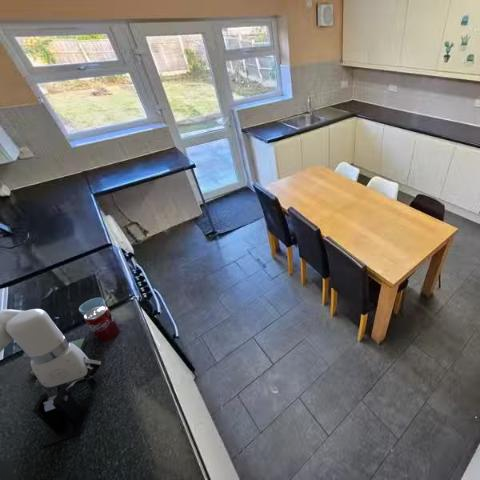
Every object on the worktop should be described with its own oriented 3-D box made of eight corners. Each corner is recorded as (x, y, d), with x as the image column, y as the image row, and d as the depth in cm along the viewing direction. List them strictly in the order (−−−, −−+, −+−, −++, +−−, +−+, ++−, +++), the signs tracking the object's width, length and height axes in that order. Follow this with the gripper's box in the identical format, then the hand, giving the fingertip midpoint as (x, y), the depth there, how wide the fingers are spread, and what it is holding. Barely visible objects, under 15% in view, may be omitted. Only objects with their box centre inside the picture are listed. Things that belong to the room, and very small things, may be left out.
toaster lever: (69, 388, 80) (67, 380, 80) (87, 382, 82) (85, 375, 82) (39, 413, 68) (36, 404, 68) (61, 406, 69) (58, 397, 69)
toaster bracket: (61, 411, 78) (38, 387, 72) (94, 400, 80) (74, 376, 74) (45, 448, 70) (18, 425, 64) (82, 435, 72) (59, 411, 66)
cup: (86, 330, 104) (73, 311, 99) (102, 316, 111) (91, 296, 105) (103, 332, 103) (91, 312, 98) (119, 317, 110) (108, 298, 104)
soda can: (107, 328, 105) (93, 305, 99) (125, 328, 104) (112, 305, 98) (93, 343, 99) (77, 320, 93) (112, 343, 98) (97, 320, 92)
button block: (34, 377, 88) (26, 369, 86) (47, 353, 96) (41, 345, 94) (78, 364, 91) (72, 356, 89) (87, 341, 99) (82, 334, 97)
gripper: (0, 372, 68) (40, 411, 77) (83, 349, 73) (111, 388, 82) (17, 349, 74) (52, 388, 83) (92, 329, 79) (117, 367, 88)
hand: (81, 388), depth 82 cm, fingers open, 6 cm apart
